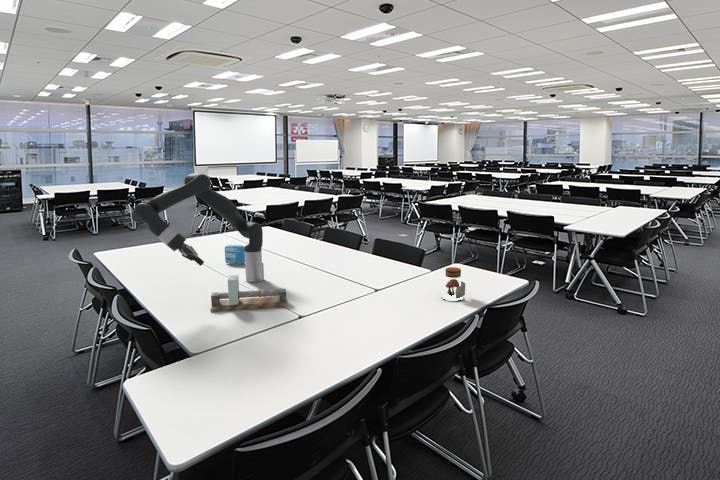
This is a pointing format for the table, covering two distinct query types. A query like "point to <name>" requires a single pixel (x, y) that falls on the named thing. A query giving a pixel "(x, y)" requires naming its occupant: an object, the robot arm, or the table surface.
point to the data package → (234, 254)
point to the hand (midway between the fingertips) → (202, 263)
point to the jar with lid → (455, 282)
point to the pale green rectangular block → (233, 289)
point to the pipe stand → (249, 300)
